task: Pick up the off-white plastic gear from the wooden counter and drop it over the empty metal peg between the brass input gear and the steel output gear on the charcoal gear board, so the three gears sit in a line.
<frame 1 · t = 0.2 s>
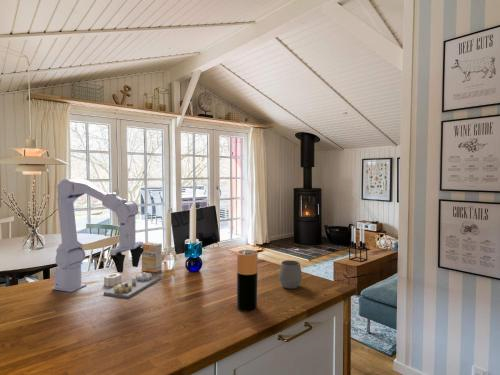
hand: (127, 269, 124), 10 cm above the kitchen counter, tool pointing down, fingers open, 7 cm apart
supplement box: (151, 271, 153), on the kitchen counter
cup: (290, 287, 134), on the kitchen counter
battery: (246, 308, 114), on the kitchen counter
loose gear: (112, 283, 136), on the kitchen counter
gear board: (134, 286, 133), on the kitchen counter
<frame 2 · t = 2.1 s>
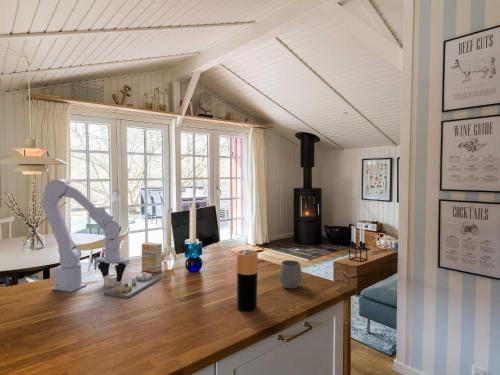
hand: (112, 280, 136), 1 cm above the kitchen counter, tool pointing down, fingers closed on loose gear, 5 cm apart
loose gear: (112, 283, 136), on the kitchen counter, touching gripper
everything else where it was.
when the fingers open (3 cm above the kitchen counter, at t = 5.7 s): loose gear stays where it is, resting on gear board.
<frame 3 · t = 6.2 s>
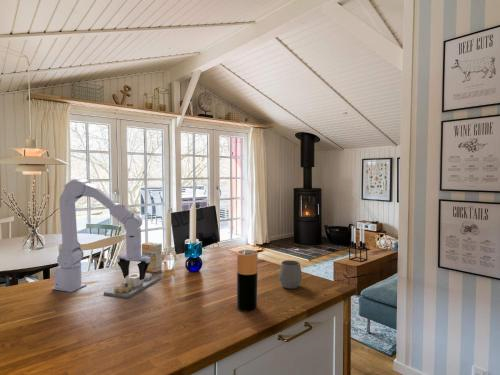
hand: (134, 278, 133), 3 cm above the kitchen counter, tool pointing down, fingers open, 7 cm apart
loose gear: (134, 284, 133), point 1 cm above the kitchen counter, touching gear board
everything else where it was.
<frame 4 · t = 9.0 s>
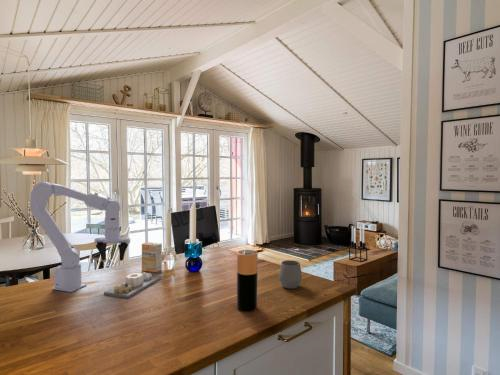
hand: (112, 259, 138), 9 cm above the kitchen counter, tool pointing down, fingers open, 7 cm apart
nothing on the kitchen counter moved.
at the end: loose gear 0.1 cm off-centre on the gear board, point 1.0 cm above the gear board's base; loose gear tilted 0°; the gripper is holding nothing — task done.
